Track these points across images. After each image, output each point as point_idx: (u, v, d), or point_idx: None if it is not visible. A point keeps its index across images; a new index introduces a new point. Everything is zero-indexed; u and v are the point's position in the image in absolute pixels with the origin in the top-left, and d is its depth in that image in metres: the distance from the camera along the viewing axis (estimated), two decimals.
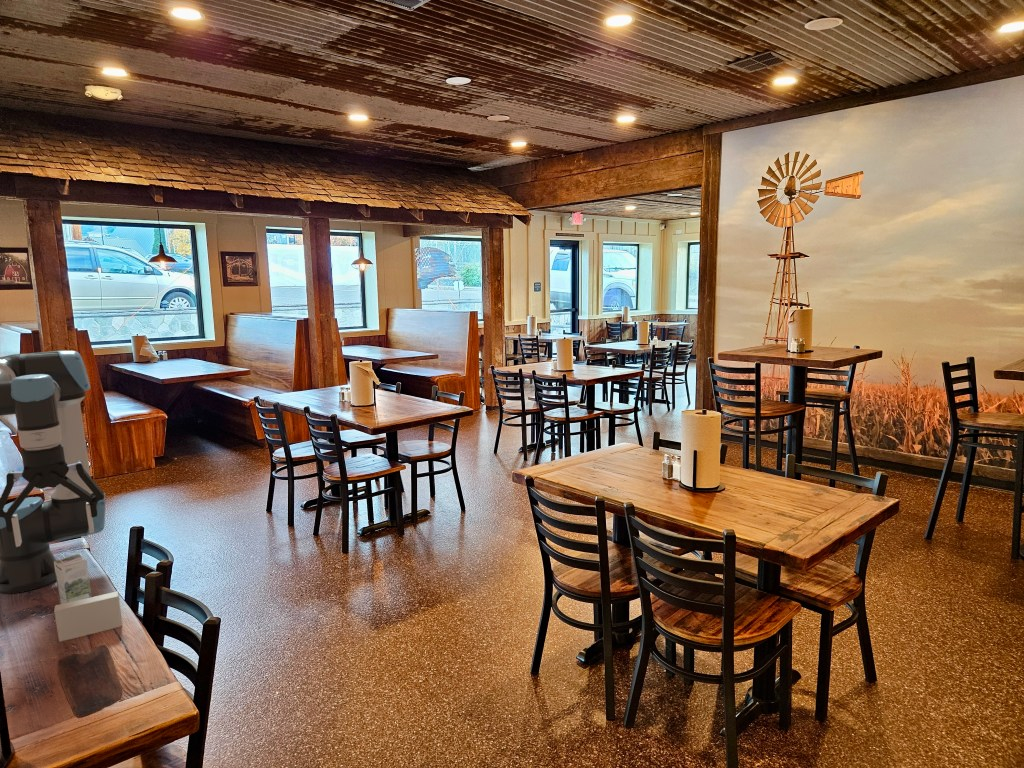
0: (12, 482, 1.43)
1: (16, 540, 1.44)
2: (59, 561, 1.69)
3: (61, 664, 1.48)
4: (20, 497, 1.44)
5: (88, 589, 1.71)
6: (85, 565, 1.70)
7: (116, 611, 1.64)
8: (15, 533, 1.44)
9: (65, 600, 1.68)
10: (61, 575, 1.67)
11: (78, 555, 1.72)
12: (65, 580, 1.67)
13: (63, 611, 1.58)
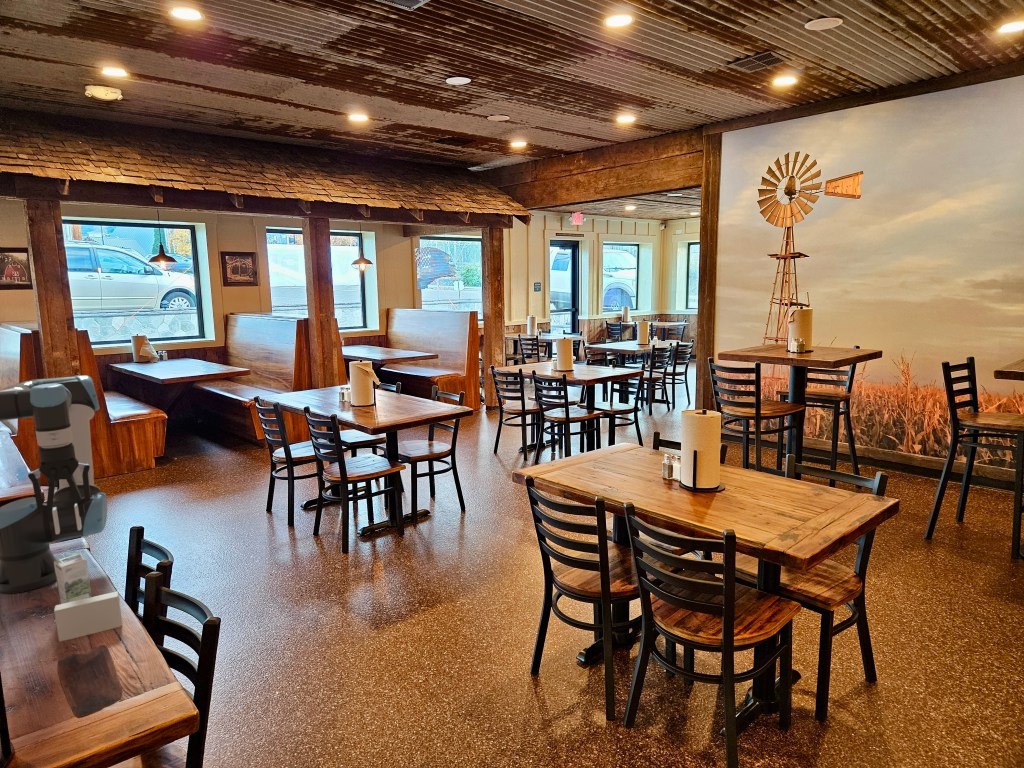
0: (36, 479, 1.69)
1: (56, 529, 1.72)
2: (59, 561, 1.69)
3: (61, 664, 1.48)
4: (49, 491, 1.71)
5: (88, 589, 1.71)
6: (85, 565, 1.70)
7: (116, 611, 1.64)
8: (55, 523, 1.72)
9: (65, 600, 1.68)
10: (61, 575, 1.67)
11: (78, 555, 1.72)
12: (65, 580, 1.67)
13: (63, 611, 1.58)
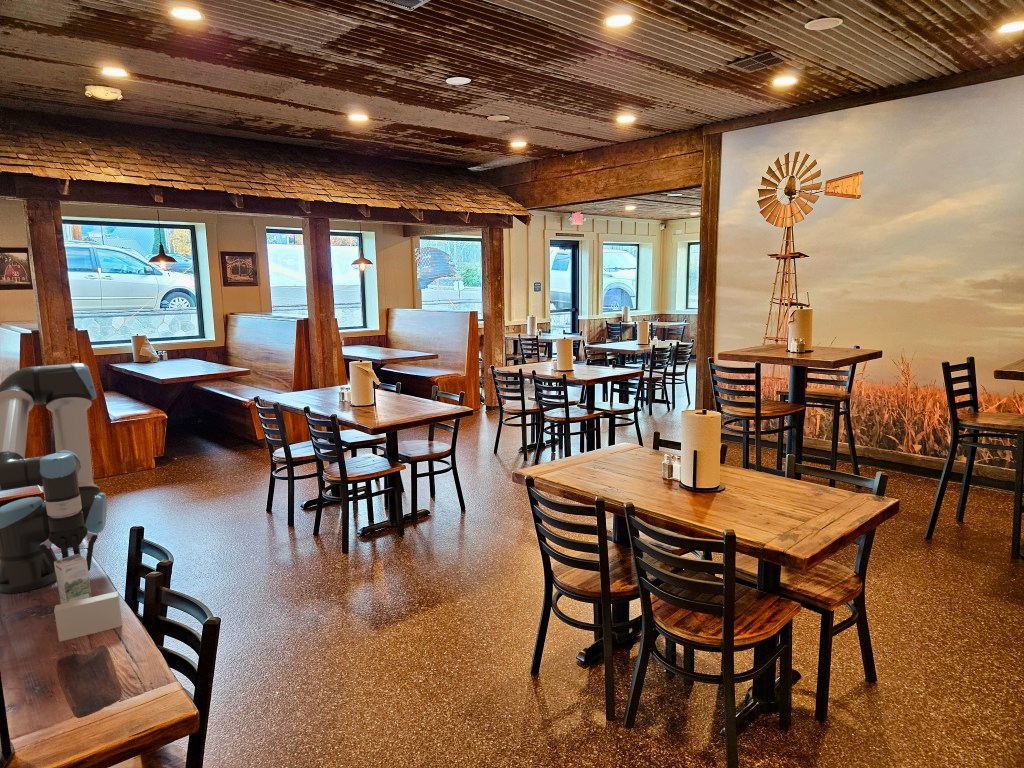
0: (48, 549, 1.70)
1: None
2: (59, 561, 1.69)
3: (60, 664, 1.48)
4: None
5: (88, 589, 1.71)
6: (85, 565, 1.70)
7: (116, 611, 1.64)
8: None
9: (65, 600, 1.68)
10: (61, 575, 1.67)
11: (78, 555, 1.72)
12: (65, 580, 1.67)
13: (63, 611, 1.58)
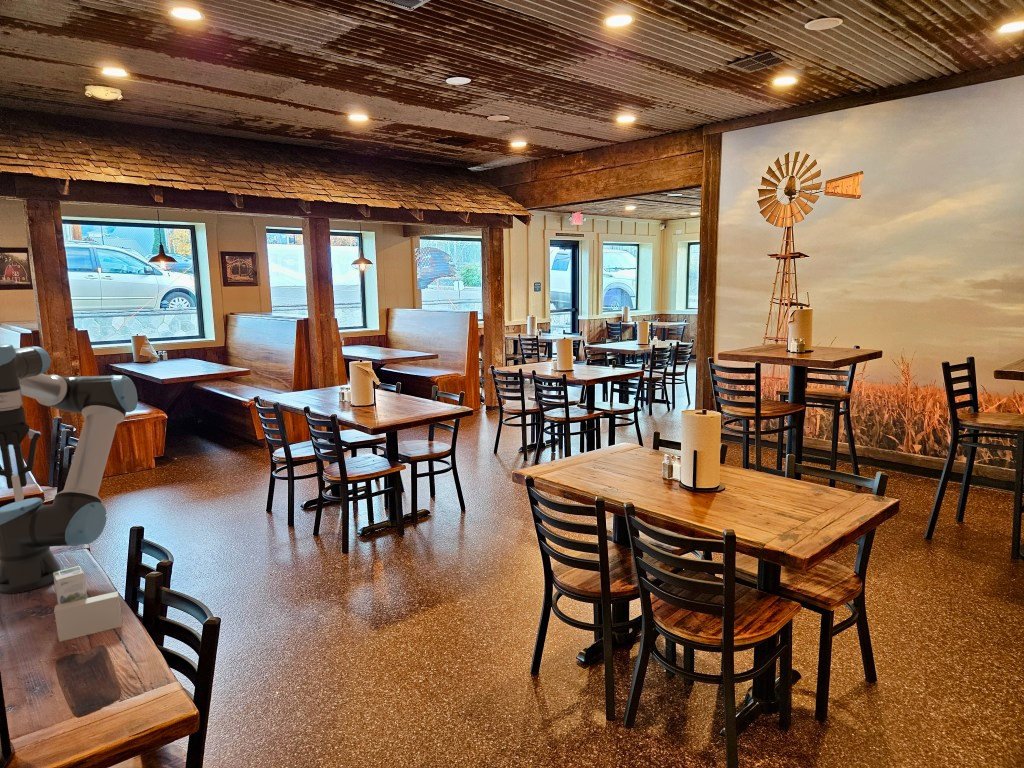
0: None
1: (15, 496, 1.66)
2: (57, 573, 1.62)
3: (59, 664, 1.48)
4: (3, 457, 1.64)
5: None
6: (82, 579, 1.62)
7: (116, 611, 1.64)
8: (14, 490, 1.66)
9: None
10: (57, 588, 1.60)
11: (78, 567, 1.65)
12: (60, 593, 1.60)
13: (63, 611, 1.58)
